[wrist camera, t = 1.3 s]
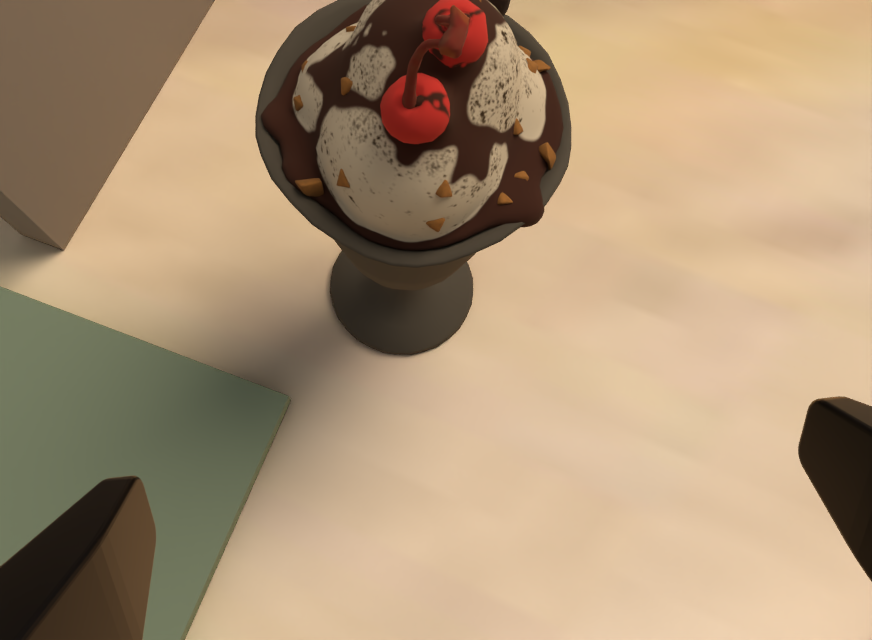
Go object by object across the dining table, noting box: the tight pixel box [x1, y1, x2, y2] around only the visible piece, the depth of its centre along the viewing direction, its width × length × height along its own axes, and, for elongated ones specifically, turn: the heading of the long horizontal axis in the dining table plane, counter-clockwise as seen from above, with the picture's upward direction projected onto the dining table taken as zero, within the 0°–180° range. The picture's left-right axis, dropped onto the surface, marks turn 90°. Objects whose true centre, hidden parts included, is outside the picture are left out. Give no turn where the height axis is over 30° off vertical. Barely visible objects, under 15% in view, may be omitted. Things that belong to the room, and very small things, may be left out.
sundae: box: [256, 0, 571, 354], centre depth 17 cm, size 7×7×15 cm
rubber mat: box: [0, 287, 291, 640], centre depth 21 cm, size 12×12×1 cm
